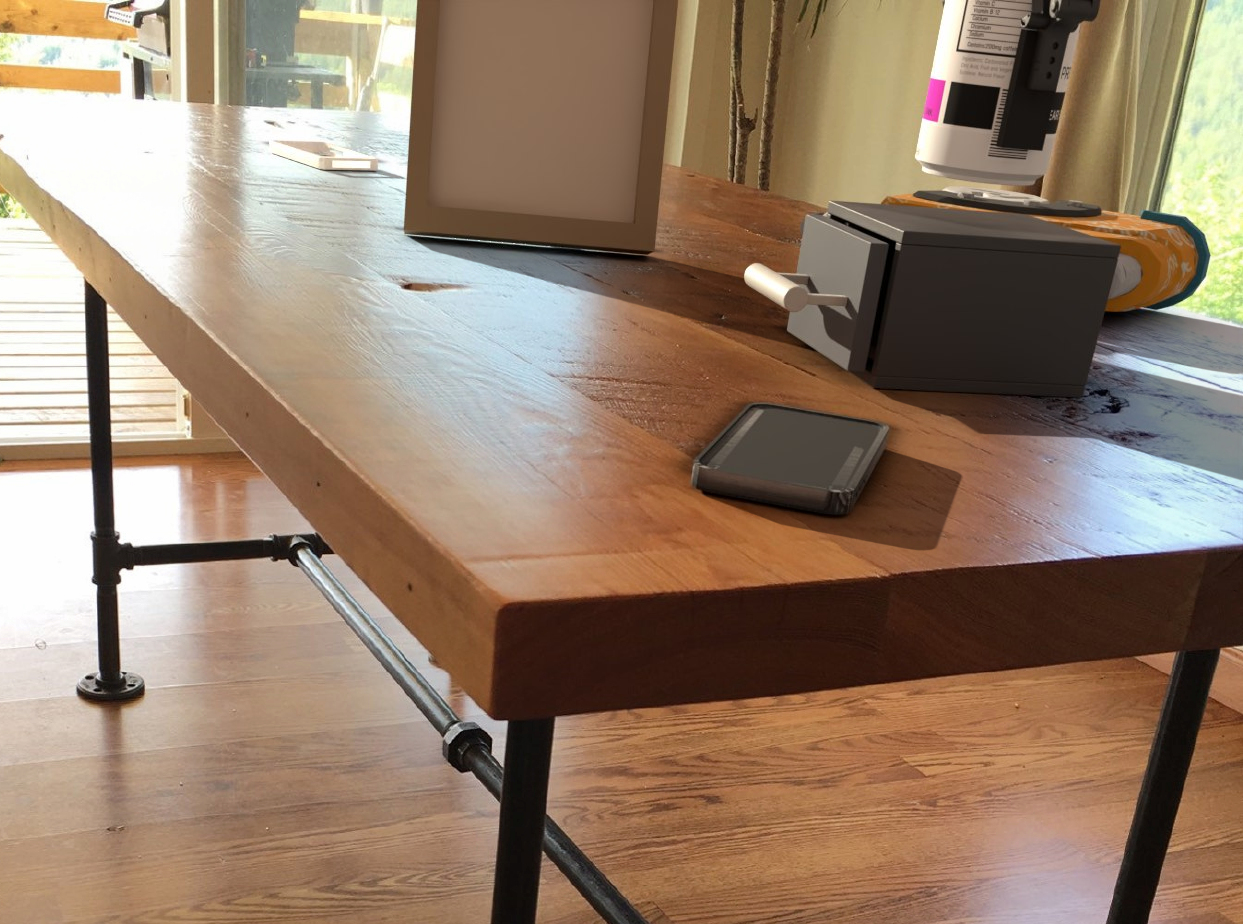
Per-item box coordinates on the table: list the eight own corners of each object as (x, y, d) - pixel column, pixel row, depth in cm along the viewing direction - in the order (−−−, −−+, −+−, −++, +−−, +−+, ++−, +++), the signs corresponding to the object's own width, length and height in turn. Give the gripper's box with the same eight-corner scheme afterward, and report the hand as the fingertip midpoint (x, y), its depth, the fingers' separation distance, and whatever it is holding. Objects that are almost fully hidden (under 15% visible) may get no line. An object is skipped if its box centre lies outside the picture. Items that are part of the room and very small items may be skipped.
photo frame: (653, 263, 132) (693, -60, 121) (403, 241, 131) (420, -87, 120) (634, 236, 146) (669, -57, 134) (407, 216, 144) (423, -81, 133)
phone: (688, 465, 72) (752, 399, 85) (684, 488, 73) (749, 419, 85) (853, 495, 70) (894, 423, 83) (849, 519, 71) (889, 443, 83)
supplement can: (886, 166, 99) (935, -96, 92) (981, 170, 102) (1035, -82, 96) (973, 185, 92) (1033, -94, 86) (1071, 188, 96) (1135, -80, 89)
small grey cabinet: (873, 388, 96) (903, 230, 92) (804, 343, 107) (828, 200, 103) (1082, 398, 99) (1122, 245, 94) (994, 352, 110) (1025, 214, 105)
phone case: (267, 152, 181) (321, 170, 170) (267, 139, 180) (321, 157, 169) (323, 153, 184) (380, 171, 173) (323, 141, 184) (380, 158, 173)
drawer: (782, 368, 95) (804, 238, 91) (727, 327, 105) (745, 209, 101) (1042, 380, 98) (1072, 255, 95) (965, 340, 108) (990, 226, 105)
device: (1150, 236, 112) (790, 175, 127) (1120, 348, 116) (774, 277, 131) (1228, 217, 129) (901, 166, 144) (1199, 316, 132) (884, 256, 148)
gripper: (937, -272, 95) (867, 118, 105) (1114, -323, 76) (1008, 156, 86) (1047, -257, 96) (967, 127, 106) (1246, -304, 78) (1127, 165, 88)
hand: (986, 139), depth 96 cm, fingers closed on supplement can, 8 cm apart
